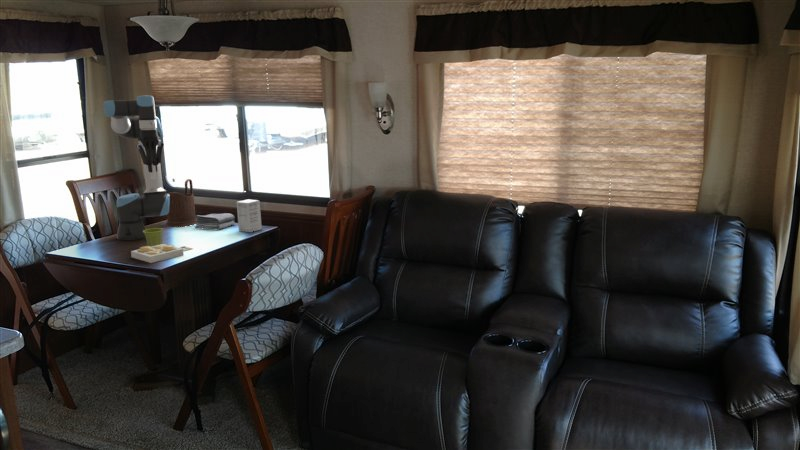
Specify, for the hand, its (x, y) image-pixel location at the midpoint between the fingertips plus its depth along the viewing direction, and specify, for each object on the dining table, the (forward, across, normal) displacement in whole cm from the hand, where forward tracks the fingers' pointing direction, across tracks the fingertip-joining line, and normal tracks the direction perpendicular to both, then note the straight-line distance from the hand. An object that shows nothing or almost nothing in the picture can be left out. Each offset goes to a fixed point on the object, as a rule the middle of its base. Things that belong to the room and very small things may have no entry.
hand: (153, 178), depth 288 cm
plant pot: (+37, +4, +13) cm, 39 cm away
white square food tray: (+36, -5, -5) cm, 37 cm away
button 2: (+36, -9, -9) cm, 38 cm away
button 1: (+35, -9, -1) cm, 36 cm away
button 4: (+35, -1, -9) cm, 36 cm away
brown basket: (+37, +46, +51) cm, 78 cm away
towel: (+37, +50, +27) cm, 68 cm away
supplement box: (+37, +56, +2) cm, 67 cm away
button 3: (+36, -1, -1) cm, 36 cm away
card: (+36, +9, -4) cm, 38 cm away
